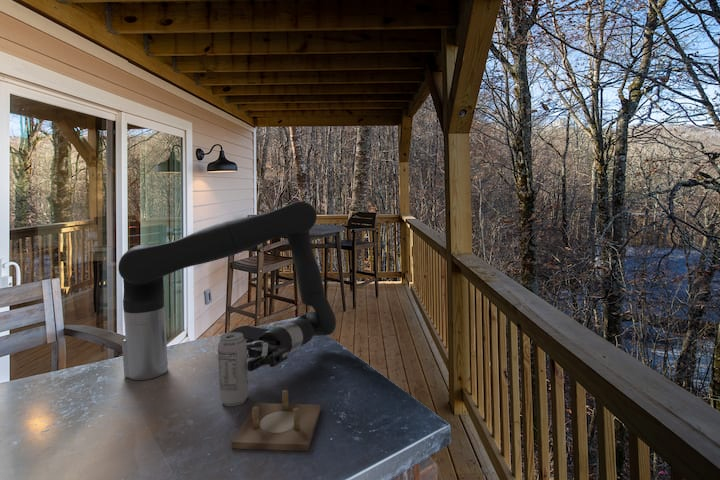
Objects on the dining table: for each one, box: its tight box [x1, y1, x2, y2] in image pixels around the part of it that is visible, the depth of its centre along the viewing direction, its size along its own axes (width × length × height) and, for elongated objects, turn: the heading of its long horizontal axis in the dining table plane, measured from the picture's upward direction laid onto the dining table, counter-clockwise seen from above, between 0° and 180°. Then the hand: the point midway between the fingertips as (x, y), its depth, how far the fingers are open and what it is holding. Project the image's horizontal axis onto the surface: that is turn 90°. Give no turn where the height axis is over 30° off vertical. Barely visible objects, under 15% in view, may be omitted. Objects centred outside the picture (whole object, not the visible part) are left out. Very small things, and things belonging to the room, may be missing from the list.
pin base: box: [230, 389, 322, 452], centre depth 79 cm, size 14×14×5 cm
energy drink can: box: [217, 331, 249, 407], centre depth 89 cm, size 6×6×15 cm
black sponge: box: [228, 325, 270, 343], centre depth 127 cm, size 16×8×4 cm, turn 61°
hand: (234, 363), depth 90 cm, fingers open, 8 cm apart
